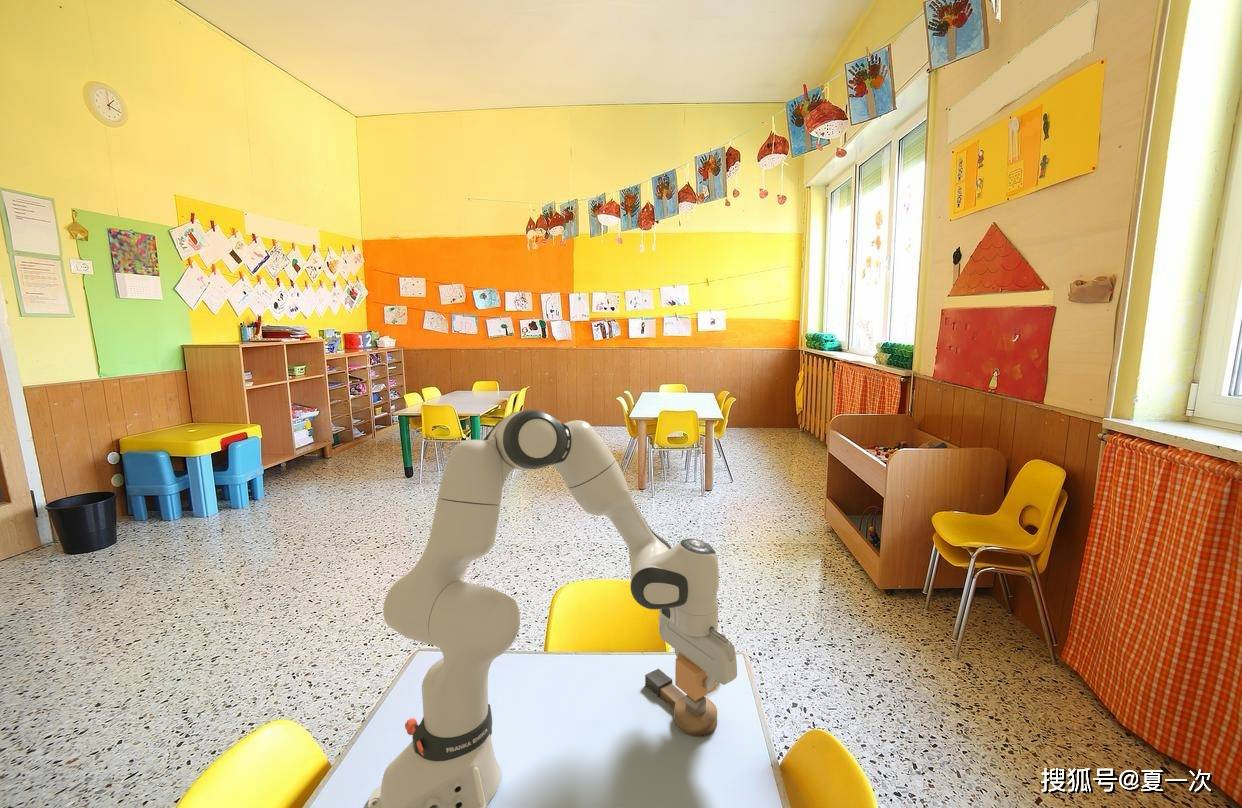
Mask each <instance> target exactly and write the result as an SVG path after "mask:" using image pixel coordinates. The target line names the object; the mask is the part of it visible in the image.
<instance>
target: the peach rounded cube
mask: <svg viewBox="0 0 1242 808" xmlns="http://www.w3.org/2000/svg"><path fill="white" fill-rule="evenodd" d="M674 669H675V676H674V677H675V680H674V683H675V685H674V686H675V687H676V688H678V689H679V690H680V691H681V692H682V693H684V694H685V695H688V696H689V697H691V698H692V699H693V700H694V701H696V700H698V699H699V698H701V697H703V696H704V697H706V696H707V695H708V694H710V693H712V692H713V691H716V689H717V680H716V679H715V680H714V687H713V689H711V690H709V691H707V690H706V689H705V688H704V687H703V686H702V685H703V679H706V678H707V677H708V676H706V672H705V671H704V670H702V669H701V668H700V667H698V666H697V665H696V664H694V663H693V662H692V661H690V660H689V659H688V658H686V657H685V656H684V655H683V656H681V657H678V658H677V657H676V658H675V668H674Z"/></svg>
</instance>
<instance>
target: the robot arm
mask: <svg viewBox="0 0 1242 808" xmlns="http://www.w3.org/2000/svg"><path fill="white" fill-rule="evenodd" d="M549 466H552V467H553V468H554V469H555V470H556V471H557V473H558V474H560V477H561V478H562V481H563V482H564V484H565V486H566V487H567V489H568V491H569V492H570V494H571V496H572V498H573V499H574V500H575V501H576V503H577V504H578V505H579V506H580V507H581V508H582V509H583V511H584V512H585V513H587V514H590V515H593V516H605V517H607V518H608V519H609V520H610V521H611V522H612V524H613V526H614V527H615V529H616V530H617V531H618V533H619V535H620V536H621V538H622V540H623V541H624V543H625V544H626V545H627V548H628V552H629V561H630V562H629V563H630V592H631V596H632V598H633V600H634V601H635V602H636V603H637V604H638V605H640V606H641V607H643V608H645V609H648V610H658V611H659V612H660V613H659V615H658V633H659V636H660V638H661V639H662V641H664V642H665V643H667V644H668V645H669V646H670V647H671V648H673V649H674V654H675V656H676V658H678V657H681V656H683V655H684V656H685V657H686V658H688V659H689V660H690V661H692V662H693V663H694V664H696V665H697V666H698V667H700V668H701V669H702V670H704V671H705V672H706V676H708V677H707V678H706V679H703V685H702V686H703V687H704V688H705V689H706V690H707V691H709V690H711V689H713V687H714V680H715V679H716V682H718V683H720V684H721V685H726V684H727V685H728V684H729V683H732V682H733V681H735V679H736V678H737V677H738V665H737V663H738V662H737V655H736V649H735V646H734V645H733V643H732V641H731V640H730V637H729V636H727V635H726V634H723V633H722V632H721V631H720V630H718V629H719V600H718V597H717V595H718V590H719V586H720V576H719V575H720V572H719V570H720V569H719V560H718V556H717V552H716V551H715V549H714V548H713V547H712V546H711V545H710V544H709V543H707V542H705V541H703V540H701V539H697V538H685V539H682V540H680V541H679V542H678V543H677V544H676V545H674V546H671V545H670V543H668V542H667V541H666V540H665V539H663V538H662V537H660V535H658V534H656V533H655V532H654V531H653V530H652V528H651V527H650V525H649V524H648V522H647V521H646V519H645V517H644V516H643V515H642V513H641V511H640V510H639V508H638V506H637V505H636V503H635V501H634V500H633V498H632V495H631V492H630V488H629V486H628V483H627V480H626V477H625V475H624V473H623V471H622V468H621V467H620V465H619V463H618V461H617V460H616V457H615V456H614V455H613V453H612V450H610V448H609V447H608V445H607V444H606V442H605V441H604V439H603V438H602V437H601V435H600V434H599V433H598V432H597V430H596V429H595V428H594V427H592V425H591V424H590V423H589V422H587V421H584V420H580V419H578V420H577V419H576V420H570V421H567V422H565V423H563V422H562V421H560V420H558V419H557V418H556V417H554V416H552V415H550V414H549V413H547V412H544V411H543V410H542V411H541V410H538V409H526V410H521V411H520V410H519V411H515V412H512V413H510V414H508V415H506V416H505V417H503V418H501V419H499V421H497V422H496V424H494V426H493V427H492V428H491V430H490V431H489V432H488V434H487V435H486V436H485V437H484V438H483V439H468V440H464V441H460V442H459V443H457V444H456V445H455V446H453V448H452V449H451V451H450V454H449V456H448V458H447V461H446V464H445V467H444V469H443V474H442V477H441V481H440V485H439V490H438V495H437V499H436V505H435V510H434V515H433V521H432V525H431V530H430V534H429V538H428V542H427V544H426V546H425V549H424V550H423V553H422V554H421V556H420V558H419V560H418V561H417V562H416V563H415V566H414V567H413V568H412V569H411V570H410V571H408V573H406V574H405V575H403V576H402V577H400V578H399V579H398V580H397V581H396V582H395V583H394V584H392V586H391V587H390V589H389V591H388V592H387V594H386V597H385V598H384V603H383V610H382V611H383V612H382V613H383V619H384V622H385V624H386V625H387V626H388V627H390V628H391V629H392V630H394V631H395V632H397V633H398V634H399V635H402V636H403V637H404V638H407V639H409V640H413V641H416V642H420V643H423V644H426V645H427V644H428V645H430V646H434V647H436V648H438V649H440V651H441V653H442V658H439V660H437V661H436V662H435V663H433V664H432V665H431V667H429V669H428V670H427V672H426V673H425V676H424V678H423V680H422V682H421V683H422V684H421V695H422V696H421V700H422V712H423V713H422V714H423V716H422V720H421V721H420V723H419V724H418V721H417V719H416V718H413V717H410V718H409V719H407V720H406V722H405V723H404V728H405V730H406V733H407V734H408V735H409V736H411V737H412V739H411V740H412V741H410V743H409V744H408V745H407V746H406V747H405V748H404V749H403V750H402V751H401V752H400V754H398V755H397V756H396V757H395V758H394V759H393V760H392V761H391V762H390V763H389V764H388V765H387V767H386V768H385V771H384V772H383V775H382V778H381V779H382V780H381V785H379V786H378V787H377V788H376V789H374V790H373V791H372V793H371V795H370V796H369V800H368V801H367V802H368V803H367V808H486V807H488V805H489V803H490V802H491V800H492V799H493V798H494V796H495V795H496V793H497V790H499V787H500V783H501V779H502V778H501V777H502V775H501V774H502V773H501V769H500V766H499V764H498V761H497V758H496V755H495V751H494V747H493V741H492V734H493V716H492V714H493V713H492V709H491V708H492V707H491V704H489V693H488V692H489V690H488V689H489V688H488V687H489V671H490V668H491V665H492V662H493V661H494V660H495V659H496V658H498V657H500V656H502V655H503V654H504V653H506V651H508V649H510V648H511V646H512V645H513V643H514V642H515V640H516V638H517V636H518V633H519V630H520V625H521V612H520V609H519V606H518V603H517V601H516V600H515V598H513V597H511V596H509V595H507V593H506V594H505V593H503V592H502V591H500V590H497V589H495V588H493V587H490V586H487V585H486V586H485V585H480V584H476V583H473V582H472V583H471V582H466V581H465V575H466V572H467V570H468V567H469V565H470V564H471V563H472V562H473V561H475V560H477V559H480V558H482V557H484V556H485V555H487V554H488V553H489V552H490V551H491V550H492V548H493V547H494V545H495V543H496V536H497V530H498V522H499V518H500V517H499V516H500V511H501V503H502V495H503V487H504V485H505V482H506V480H507V477H508V476H509V474H511V472H512V471H513V470H521V471H523V470H524V471H525V470H526V471H527V470H539V469H544V468H548V467H549Z"/></svg>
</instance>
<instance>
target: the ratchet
mask: <svg viewBox="0 0 1242 808" xmlns="http://www.w3.org/2000/svg"><path fill="white" fill-rule="evenodd" d="M644 676H645V677H644V681H645V683H644V685H645V686H646V687H647V688H648V689H649V690H650V691H651V692H653V694H655V695H656V696H657V697H658V698H659V697H660V698H661V699H662V700H663V701H664V702H665V703H667V705H669V706H670V707H671V708H672V709H674V719H673V721H674V723H675V726H676V727H677V729H678V730H680V732H682V733H683V734H685V735H687V736H691V737H698V738H699V737H706V736H710V735H711V734H712V733H713V732H714V731H715V730H716V729H717V725H718V708H717V706H716V704H715V703H714V702H713V701H712V700H710V699H709V698H708V697H706V696H703V697H701V698H699V699H698V700H696V701H694V700H693V699H692V698H691V697H689V696H688V695H687V694H686V693H684V692H683V691H682V690H681V689H680V688H678V687H677V686H676V685H674V684H673V679H672V678H670V676H668V675H667V674H666V673H665V672H663V670H661V669H660V668H657V669H655V670H653V671H650V672H648V673H646V674H645V675H644Z"/></svg>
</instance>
